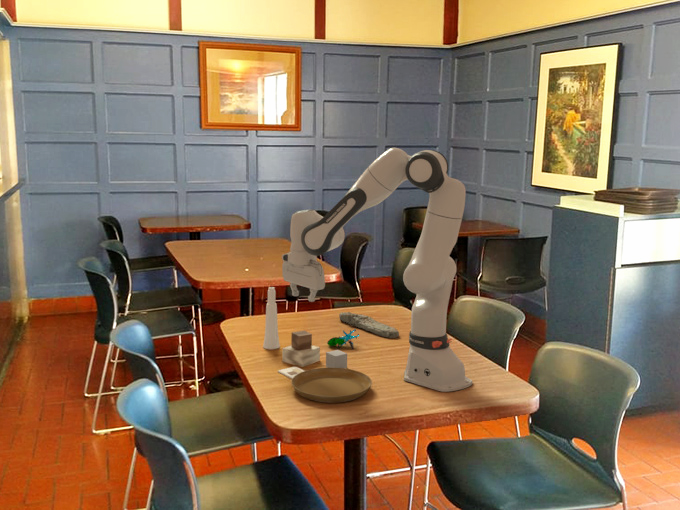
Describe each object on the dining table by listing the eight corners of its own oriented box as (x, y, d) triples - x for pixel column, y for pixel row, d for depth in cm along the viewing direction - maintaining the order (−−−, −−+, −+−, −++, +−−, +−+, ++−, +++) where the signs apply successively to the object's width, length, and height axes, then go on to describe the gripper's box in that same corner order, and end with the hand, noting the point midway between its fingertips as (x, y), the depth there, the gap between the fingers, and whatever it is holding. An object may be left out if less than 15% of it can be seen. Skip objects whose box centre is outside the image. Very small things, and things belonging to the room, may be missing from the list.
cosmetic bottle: (271, 350, 241) (272, 290, 237) (259, 347, 245) (259, 287, 241) (283, 346, 246) (283, 287, 242) (271, 343, 249) (271, 285, 246)
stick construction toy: (357, 336, 252) (356, 324, 246) (364, 351, 248) (363, 339, 242) (327, 347, 250) (325, 334, 245) (333, 362, 246) (331, 349, 240)
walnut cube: (311, 348, 229) (311, 334, 228) (298, 350, 226) (298, 336, 226) (304, 344, 233) (304, 330, 232) (291, 346, 230) (291, 332, 230)
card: (313, 376, 215) (313, 374, 215) (295, 380, 211) (295, 378, 211) (295, 367, 223) (295, 366, 223) (277, 371, 219) (277, 370, 219)
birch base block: (319, 361, 231) (319, 347, 231) (302, 368, 224) (302, 353, 223) (299, 356, 237) (299, 342, 236) (282, 362, 230) (282, 348, 229)
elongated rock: (385, 344, 257) (405, 341, 263) (387, 330, 256) (406, 328, 262) (331, 319, 284) (350, 317, 290) (332, 307, 283) (351, 305, 289)
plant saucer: (321, 413, 187) (321, 401, 187) (276, 387, 206) (276, 376, 206) (387, 395, 201) (388, 384, 201) (340, 372, 220) (340, 362, 220)
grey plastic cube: (347, 368, 224) (347, 353, 223) (334, 370, 221) (335, 356, 220) (337, 364, 228) (338, 349, 227) (325, 366, 225) (326, 352, 224)
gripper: (329, 261, 220) (329, 303, 222) (294, 253, 236) (294, 292, 238) (314, 263, 216) (313, 305, 218) (279, 254, 232) (279, 294, 234)
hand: (303, 298), depth 228 cm, fingers open, 8 cm apart
